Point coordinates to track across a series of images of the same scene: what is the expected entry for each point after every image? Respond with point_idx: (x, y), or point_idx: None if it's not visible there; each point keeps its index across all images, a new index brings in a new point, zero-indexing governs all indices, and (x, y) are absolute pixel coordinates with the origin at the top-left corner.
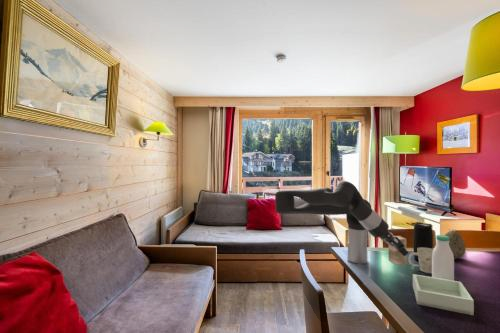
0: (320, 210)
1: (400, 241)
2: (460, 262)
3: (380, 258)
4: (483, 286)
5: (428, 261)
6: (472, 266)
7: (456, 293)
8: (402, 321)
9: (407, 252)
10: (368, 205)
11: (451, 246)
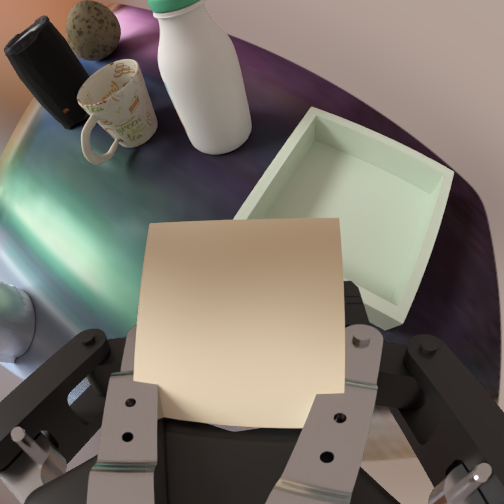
0: None
1: (502, 418)
2: (129, 49)
3: (24, 226)
4: (260, 64)
5: (138, 109)
6: (155, 39)
7: (322, 149)
8: None
9: (353, 284)
10: None
11: (99, 32)
